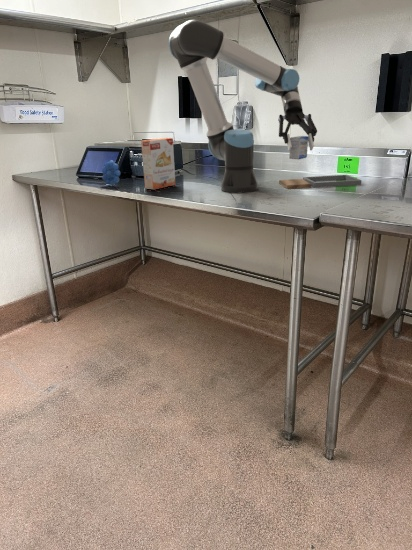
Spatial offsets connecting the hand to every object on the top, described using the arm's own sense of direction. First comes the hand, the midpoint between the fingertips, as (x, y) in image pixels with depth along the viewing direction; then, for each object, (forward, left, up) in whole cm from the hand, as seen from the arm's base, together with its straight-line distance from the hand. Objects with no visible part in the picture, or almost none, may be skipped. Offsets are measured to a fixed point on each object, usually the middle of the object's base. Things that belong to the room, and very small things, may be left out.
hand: (301, 148), depth 166 cm
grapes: (-80, +28, -16) cm, 86 cm away
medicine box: (0, +3, -4) cm, 6 cm away
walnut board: (-1, +3, -15) cm, 16 cm away
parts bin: (+15, +3, -15) cm, 22 cm away
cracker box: (-58, +16, -16) cm, 62 cm away
